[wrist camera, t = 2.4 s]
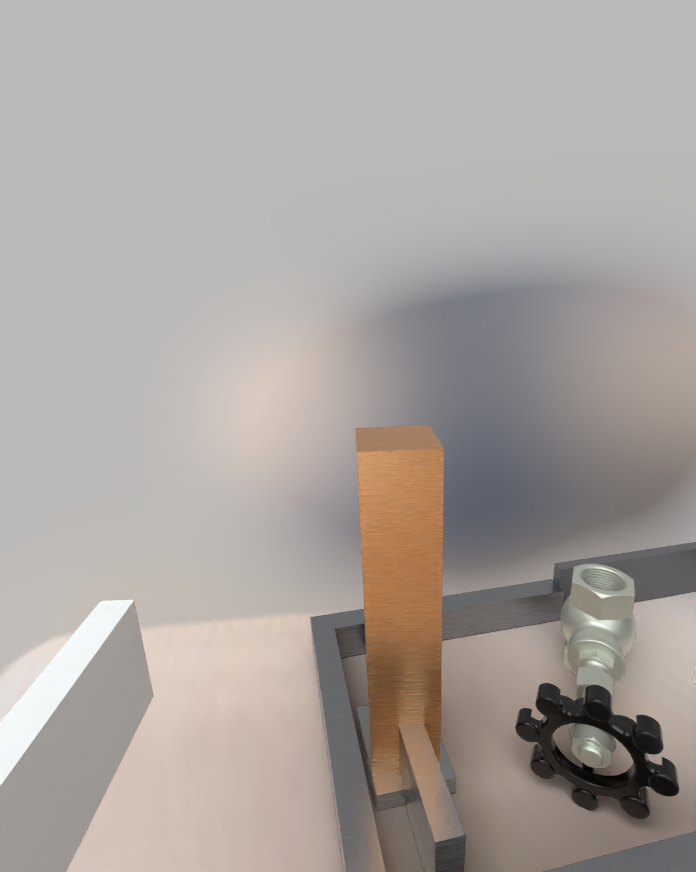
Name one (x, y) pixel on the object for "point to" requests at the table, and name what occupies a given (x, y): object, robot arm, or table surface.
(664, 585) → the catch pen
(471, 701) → the table surface
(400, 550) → the brown wooden block
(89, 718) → the robot arm
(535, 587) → the slot rails
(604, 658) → the valve
